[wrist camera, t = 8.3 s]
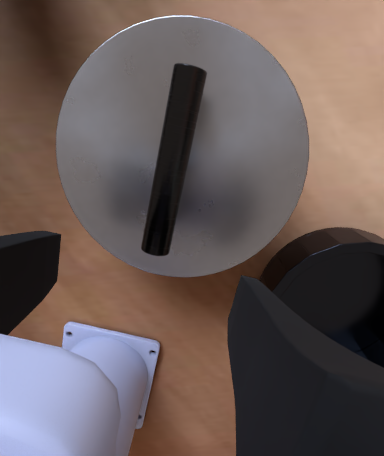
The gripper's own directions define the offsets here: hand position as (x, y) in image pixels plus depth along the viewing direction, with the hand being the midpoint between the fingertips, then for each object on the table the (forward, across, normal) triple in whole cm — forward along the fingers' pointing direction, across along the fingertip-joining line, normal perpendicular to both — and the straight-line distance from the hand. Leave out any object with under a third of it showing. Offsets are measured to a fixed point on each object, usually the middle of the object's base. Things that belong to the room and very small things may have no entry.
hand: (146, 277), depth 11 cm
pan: (+10, -13, +4) cm, 17 cm away
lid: (+5, 0, -4) cm, 6 cm away
